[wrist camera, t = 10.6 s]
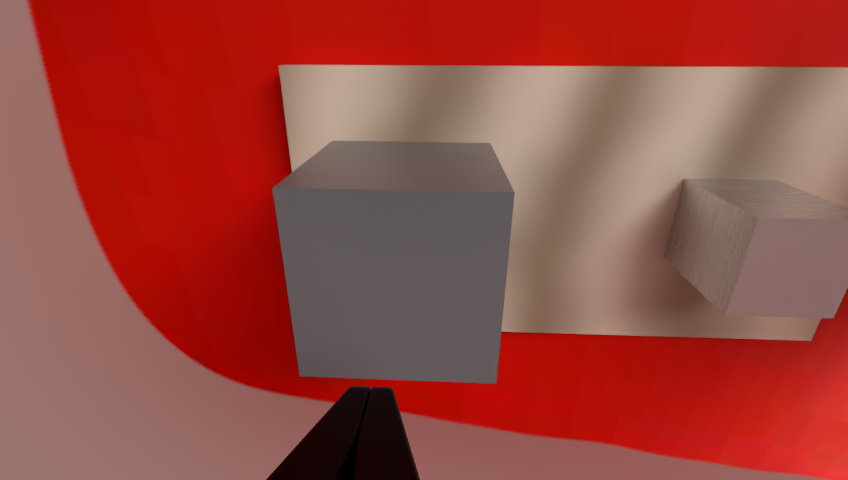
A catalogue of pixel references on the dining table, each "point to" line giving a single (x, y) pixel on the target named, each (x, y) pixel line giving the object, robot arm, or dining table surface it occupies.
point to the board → (598, 169)
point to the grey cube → (761, 247)
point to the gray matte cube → (397, 260)
